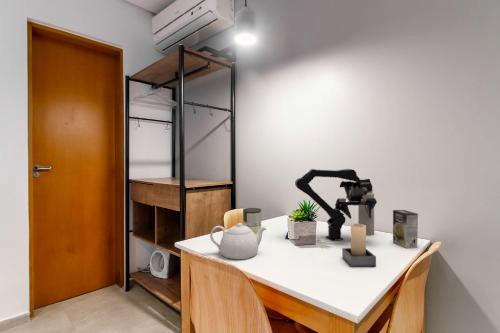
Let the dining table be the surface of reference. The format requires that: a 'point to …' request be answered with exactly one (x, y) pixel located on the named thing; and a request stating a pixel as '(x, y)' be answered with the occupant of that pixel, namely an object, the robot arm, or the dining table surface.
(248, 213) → the coffee can
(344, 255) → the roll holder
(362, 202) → the robot arm
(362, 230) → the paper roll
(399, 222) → the coffee box
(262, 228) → the teapot
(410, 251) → the dining table surface
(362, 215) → the thermos bottle
